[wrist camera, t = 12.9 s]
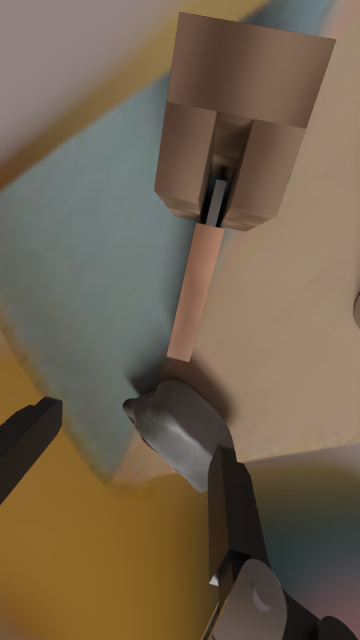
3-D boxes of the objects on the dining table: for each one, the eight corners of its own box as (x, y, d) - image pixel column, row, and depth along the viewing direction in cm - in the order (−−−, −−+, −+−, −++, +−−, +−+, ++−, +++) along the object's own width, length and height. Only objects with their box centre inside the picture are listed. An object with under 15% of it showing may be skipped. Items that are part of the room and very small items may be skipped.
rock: (122, 396, 35) (100, 435, 28) (167, 361, 32) (156, 394, 24) (191, 458, 38) (189, 508, 31) (239, 432, 35) (249, 480, 27)
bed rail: (230, 197, 23) (237, 183, 19) (191, 345, 30) (189, 362, 26) (205, 192, 24) (206, 177, 19) (172, 340, 30) (166, 356, 26)
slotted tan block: (272, 142, 21) (336, 39, 11) (245, 231, 24) (276, 216, 14) (191, 126, 22) (179, 11, 11) (175, 216, 25) (154, 190, 14)
